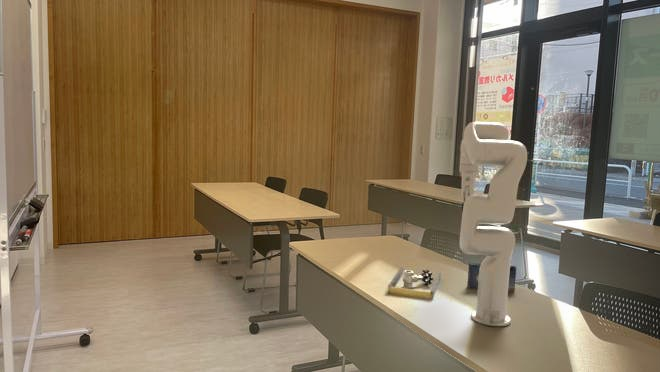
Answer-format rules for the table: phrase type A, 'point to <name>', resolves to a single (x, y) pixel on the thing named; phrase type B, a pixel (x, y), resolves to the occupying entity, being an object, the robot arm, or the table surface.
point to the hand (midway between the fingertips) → (465, 212)
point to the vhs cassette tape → (474, 277)
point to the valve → (416, 278)
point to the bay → (410, 292)
